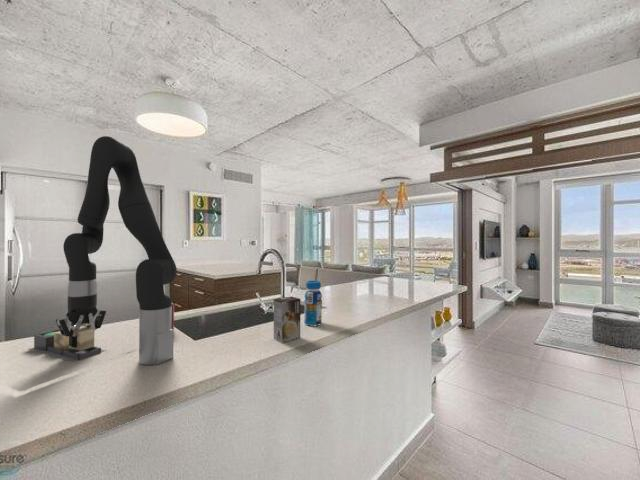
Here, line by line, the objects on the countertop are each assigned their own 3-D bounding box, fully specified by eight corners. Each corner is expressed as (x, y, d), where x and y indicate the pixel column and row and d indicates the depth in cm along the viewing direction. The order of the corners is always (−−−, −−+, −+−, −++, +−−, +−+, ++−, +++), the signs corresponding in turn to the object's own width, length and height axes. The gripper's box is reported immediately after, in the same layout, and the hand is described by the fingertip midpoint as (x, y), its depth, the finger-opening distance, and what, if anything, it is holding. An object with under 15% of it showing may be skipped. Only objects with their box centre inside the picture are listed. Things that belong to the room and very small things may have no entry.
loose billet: (94, 346, 96) (94, 328, 96) (80, 350, 93) (80, 332, 93) (82, 343, 99) (83, 326, 99) (69, 347, 95) (69, 329, 95)
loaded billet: (78, 349, 100) (78, 331, 100) (64, 353, 96) (64, 335, 96) (67, 346, 102) (67, 329, 102) (53, 350, 98) (53, 332, 98)
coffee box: (291, 333, 122) (292, 296, 122) (300, 338, 117) (301, 298, 117) (272, 338, 116) (273, 298, 116) (281, 343, 111) (282, 301, 111)
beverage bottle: (301, 322, 138) (301, 280, 138) (317, 320, 142) (318, 279, 141) (308, 327, 130) (308, 283, 130) (324, 325, 134) (325, 282, 134)
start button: (63, 341, 103) (63, 332, 103) (48, 345, 99) (48, 336, 99) (56, 339, 105) (56, 331, 105) (41, 343, 101) (41, 334, 101)
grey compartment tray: (106, 353, 99) (106, 337, 99) (72, 365, 89) (72, 347, 89) (62, 342, 108) (62, 327, 108) (27, 352, 99) (27, 336, 99)
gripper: (63, 298, 87) (63, 354, 88) (112, 290, 101) (111, 339, 101) (49, 296, 90) (48, 350, 91) (98, 288, 103) (98, 336, 104)
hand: (82, 344), depth 96 cm, fingers closed on loose billet, 4 cm apart
